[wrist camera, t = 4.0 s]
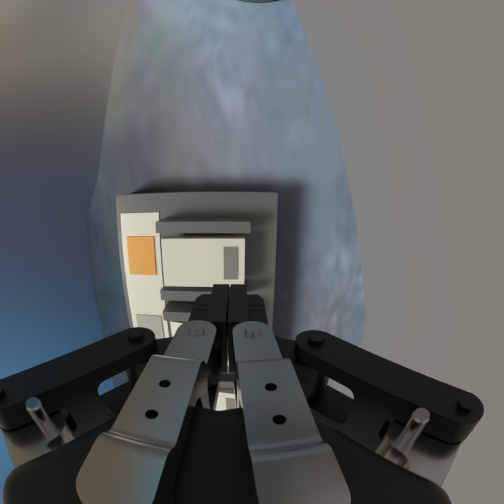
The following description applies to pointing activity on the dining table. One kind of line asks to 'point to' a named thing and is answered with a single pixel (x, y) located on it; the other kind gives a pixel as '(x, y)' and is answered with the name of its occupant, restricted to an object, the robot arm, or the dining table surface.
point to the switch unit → (191, 224)
